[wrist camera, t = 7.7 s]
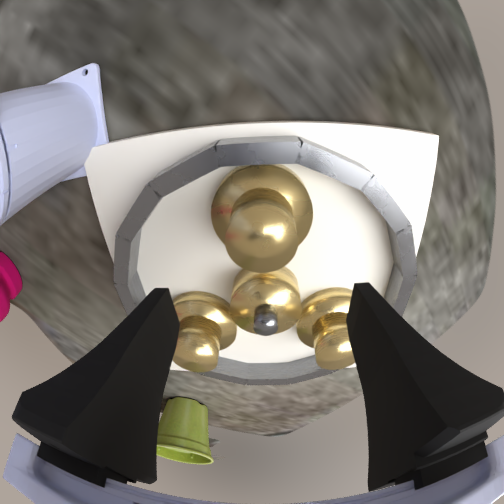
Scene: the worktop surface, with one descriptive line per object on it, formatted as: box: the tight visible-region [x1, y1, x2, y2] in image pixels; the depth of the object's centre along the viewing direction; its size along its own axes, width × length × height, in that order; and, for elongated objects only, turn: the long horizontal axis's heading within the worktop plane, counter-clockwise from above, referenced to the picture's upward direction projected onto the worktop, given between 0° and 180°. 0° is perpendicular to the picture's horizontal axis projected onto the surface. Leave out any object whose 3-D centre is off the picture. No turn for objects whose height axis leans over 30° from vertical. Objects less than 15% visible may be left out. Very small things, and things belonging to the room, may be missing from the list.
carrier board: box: [84, 121, 439, 371], centre depth 21 cm, size 24×24×1 cm
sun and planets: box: [173, 266, 355, 372], centre depth 20 cm, size 17×9×4 cm, turn 93°
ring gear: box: [114, 136, 417, 385], centre depth 20 cm, size 22×22×2 cm
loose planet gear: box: [211, 164, 313, 273], centre depth 15 cm, size 6×6×4 cm
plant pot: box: [156, 397, 214, 464], centre depth 32 cm, size 9×9×9 cm
